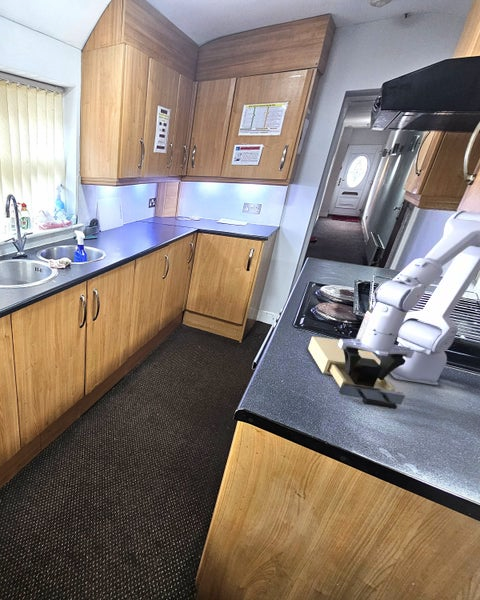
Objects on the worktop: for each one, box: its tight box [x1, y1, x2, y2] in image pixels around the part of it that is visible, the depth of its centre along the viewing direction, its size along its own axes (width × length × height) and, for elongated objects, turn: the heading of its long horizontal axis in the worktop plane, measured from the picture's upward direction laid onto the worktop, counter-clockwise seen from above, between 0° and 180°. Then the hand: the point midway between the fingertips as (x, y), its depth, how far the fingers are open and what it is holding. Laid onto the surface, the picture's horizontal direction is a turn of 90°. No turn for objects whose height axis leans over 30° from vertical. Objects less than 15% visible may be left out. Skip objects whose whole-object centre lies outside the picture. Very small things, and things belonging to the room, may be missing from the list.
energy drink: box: [355, 308, 374, 339], centre depth 102 cm, size 5×5×12 cm
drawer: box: [328, 363, 406, 410], centre depth 84 cm, size 17×12×3 cm
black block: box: [349, 358, 382, 387], centre depth 84 cm, size 4×4×6 cm
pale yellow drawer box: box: [307, 335, 381, 376], centre depth 95 cm, size 14×14×5 cm
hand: (363, 375), depth 85 cm, fingers open, 6 cm apart
